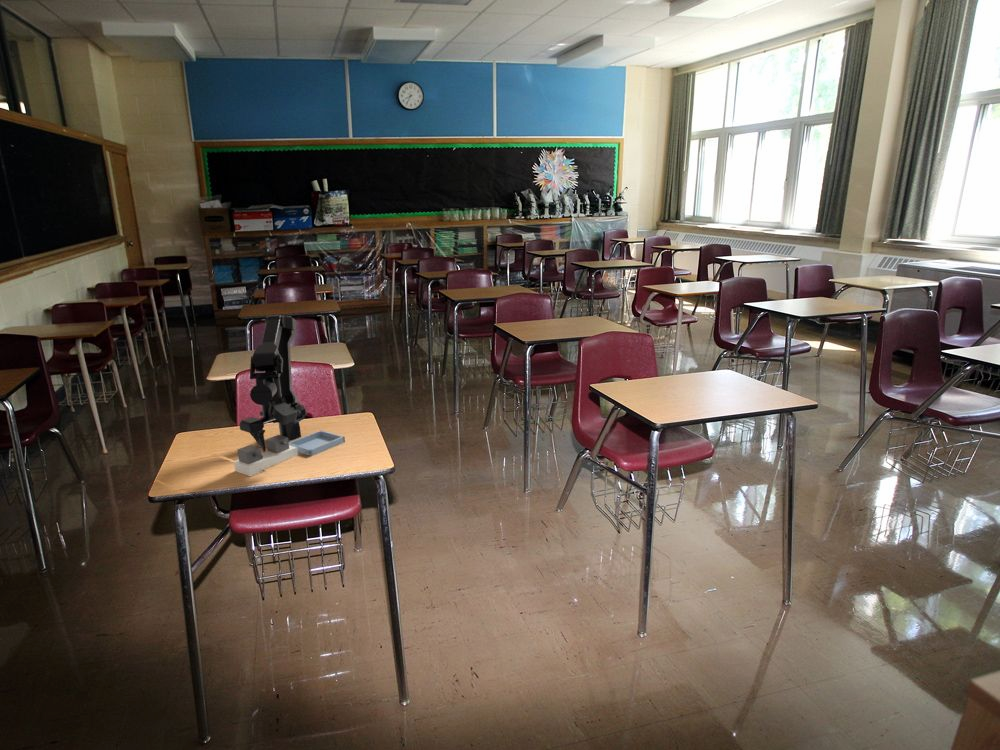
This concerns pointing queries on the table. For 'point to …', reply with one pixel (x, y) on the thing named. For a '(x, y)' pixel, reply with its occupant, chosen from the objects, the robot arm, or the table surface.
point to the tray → (317, 442)
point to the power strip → (260, 459)
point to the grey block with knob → (277, 444)
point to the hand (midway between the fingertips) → (277, 445)
